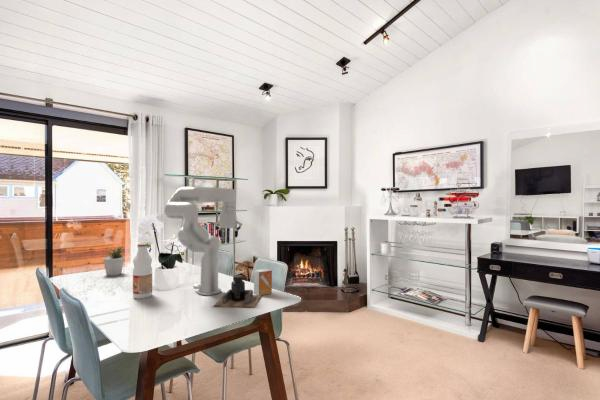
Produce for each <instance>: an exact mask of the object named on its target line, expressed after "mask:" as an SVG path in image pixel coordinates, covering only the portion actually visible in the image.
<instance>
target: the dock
mask: <svg viewBox="0 0 600 400" xmlns="http://www.w3.org/2000/svg"><path fill="white" fill-rule="evenodd" d="M261 297H262V295H256V294H254V289H245V299H244V300H242V301H233V300H232V297H231V289H228V290H227V291H226V292H225V294H223V295H222V296H221V297H220V298H219V299H218V300H217V301H216V302H215V303H214V304H213V305H212V306H213V307H214V308H247V309H248V308H249V309H251V308H252V309H254V308H256V306H257V304H258V303H259V301H260V300H261Z"/></svg>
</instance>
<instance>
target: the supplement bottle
mask: <svg viewBox="0 0 600 400" xmlns="http://www.w3.org/2000/svg"><path fill="white" fill-rule="evenodd" d="M230 285H231V289H230V290H231V297H232V300H233V301H242V300H244V299H245V290H246V283H245V281H244V276H243V275H240V274H237V275H233V279H232V281H231V284H230Z"/></svg>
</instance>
